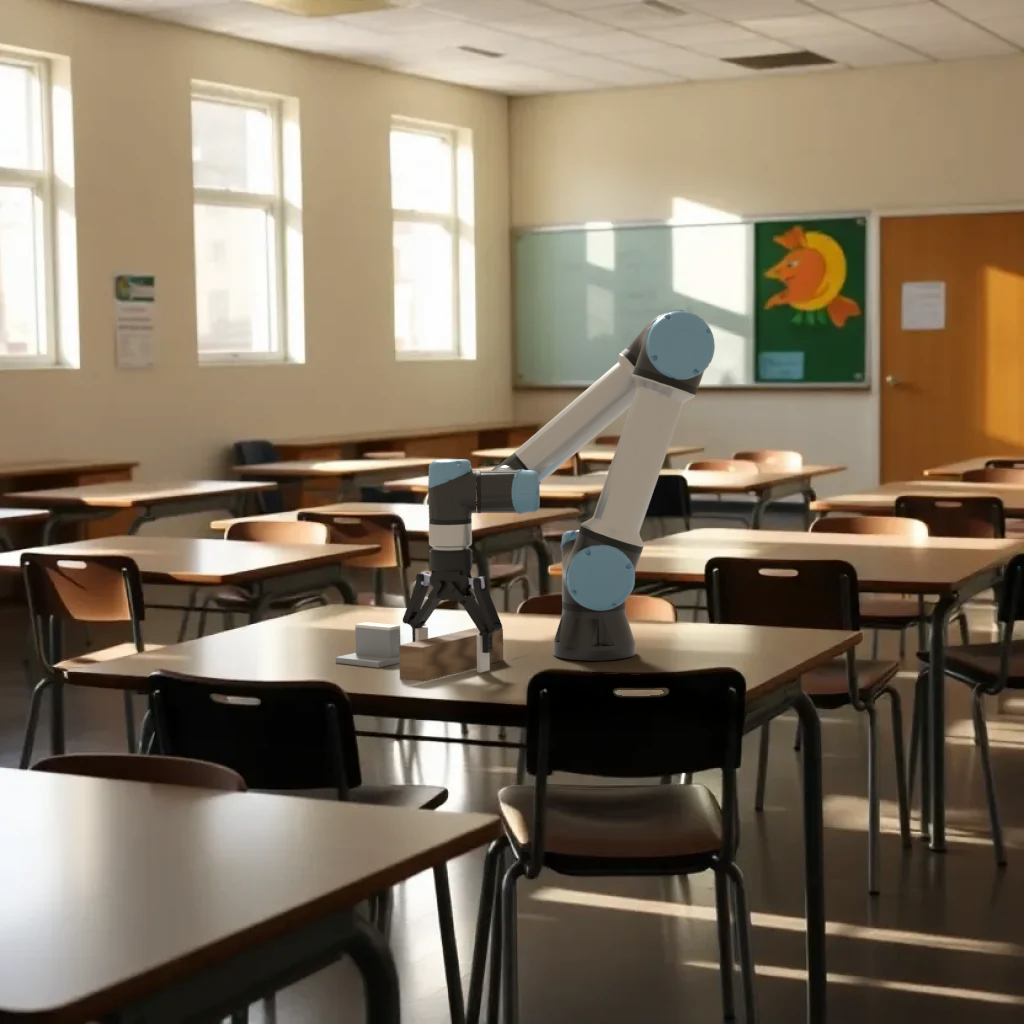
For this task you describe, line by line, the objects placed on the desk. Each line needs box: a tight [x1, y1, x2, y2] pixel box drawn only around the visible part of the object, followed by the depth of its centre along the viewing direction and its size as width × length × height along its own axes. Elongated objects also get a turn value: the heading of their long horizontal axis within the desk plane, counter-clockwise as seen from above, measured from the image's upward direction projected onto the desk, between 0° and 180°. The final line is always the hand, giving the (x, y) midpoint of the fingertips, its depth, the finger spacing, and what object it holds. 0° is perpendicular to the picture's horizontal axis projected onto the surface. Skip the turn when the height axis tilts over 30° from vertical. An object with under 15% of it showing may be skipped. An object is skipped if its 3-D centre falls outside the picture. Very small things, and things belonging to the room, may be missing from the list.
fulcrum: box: [335, 621, 401, 669], centre depth 314 cm, size 10×12×6 cm
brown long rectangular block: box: [398, 627, 504, 682], centre depth 305 cm, size 24×5×6 cm, turn 146°
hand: (452, 667), depth 305 cm, fingers open, 13 cm apart
